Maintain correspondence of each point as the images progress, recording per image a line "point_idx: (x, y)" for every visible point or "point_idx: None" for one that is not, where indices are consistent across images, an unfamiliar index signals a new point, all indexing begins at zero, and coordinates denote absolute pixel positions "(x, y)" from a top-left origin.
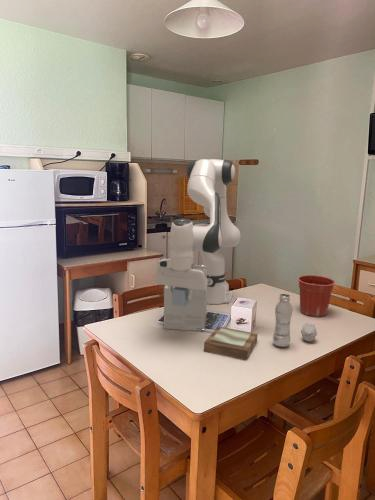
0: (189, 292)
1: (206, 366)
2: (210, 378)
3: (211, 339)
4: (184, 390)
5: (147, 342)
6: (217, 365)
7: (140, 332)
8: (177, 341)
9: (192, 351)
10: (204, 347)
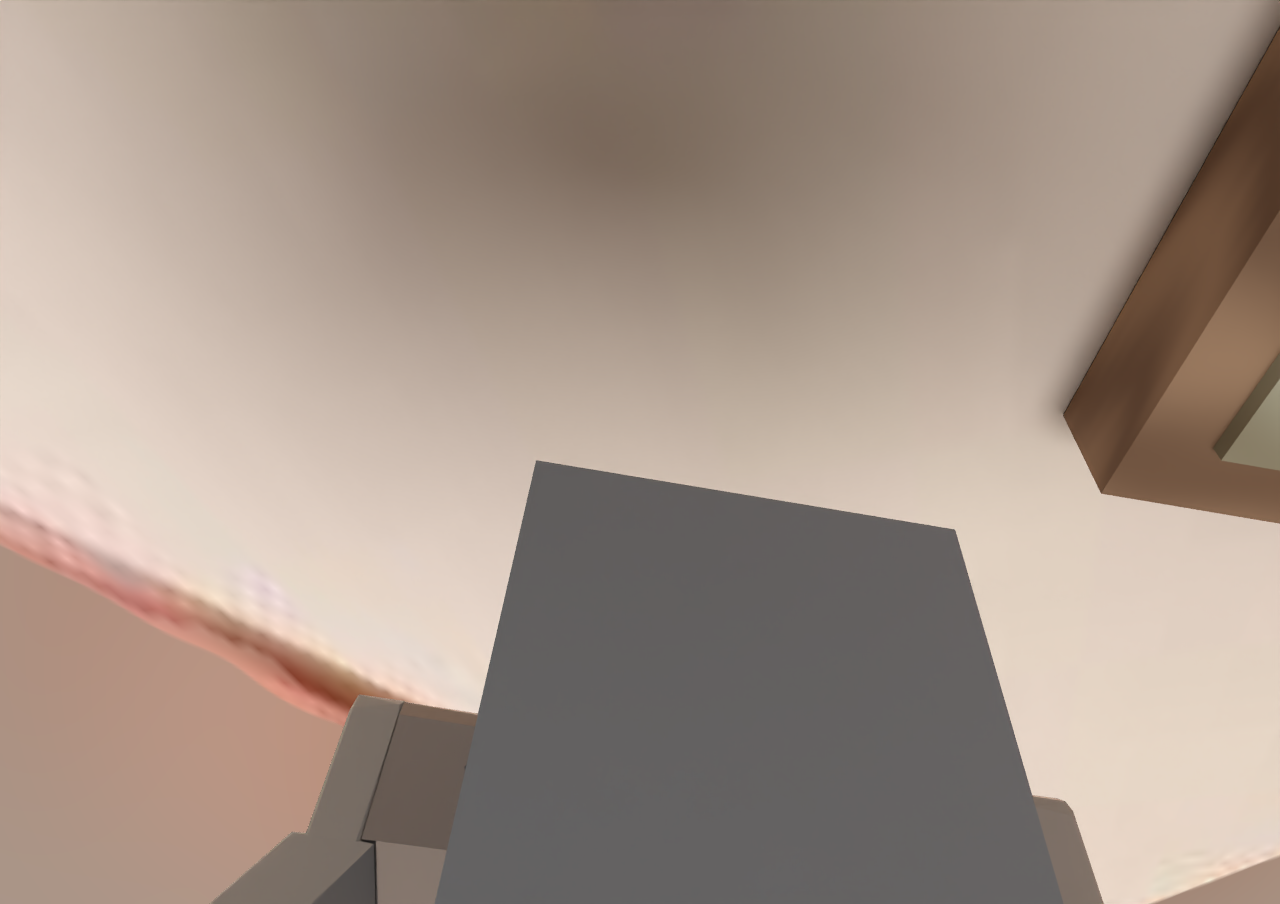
0: (1045, 862)
1: (1067, 652)
2: (1084, 767)
3: (1228, 452)
4: None
5: (318, 358)
6: (1181, 626)
7: (24, 86)
8: (682, 244)
9: (919, 444)
10: (1085, 449)
